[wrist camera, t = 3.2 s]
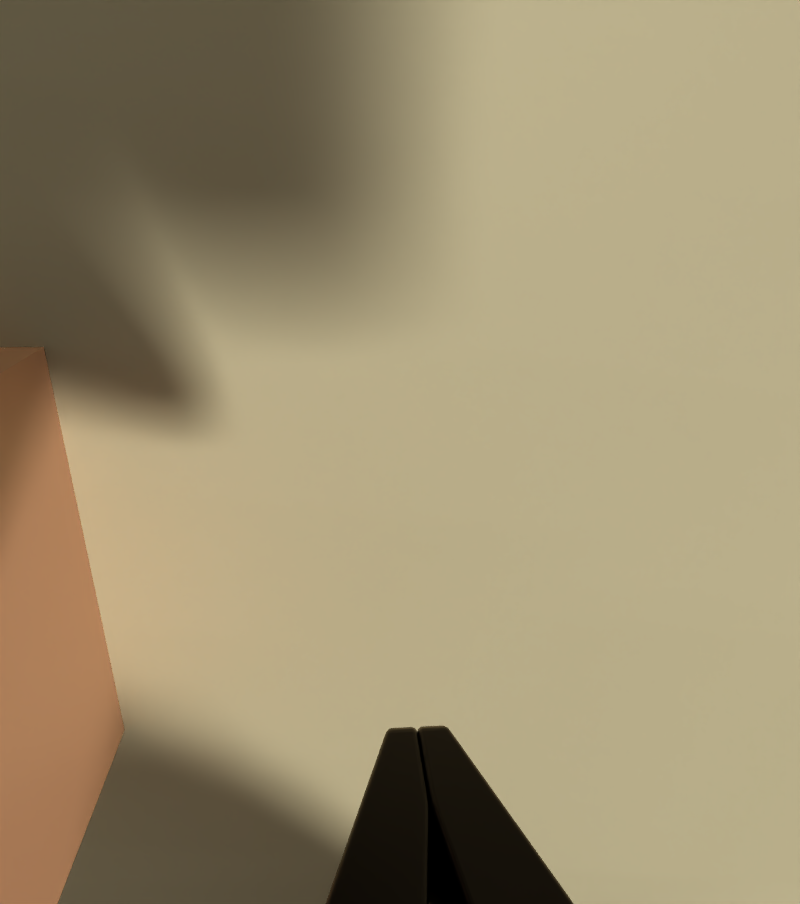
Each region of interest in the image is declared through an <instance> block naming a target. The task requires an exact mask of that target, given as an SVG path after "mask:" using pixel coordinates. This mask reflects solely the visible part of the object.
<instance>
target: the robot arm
mask: <svg viewBox="0 0 800 904" xmlns="http://www.w3.org/2000/svg"><path fill="white" fill-rule="evenodd" d="M326 904H573V902H572V901H571V899H570V898H569V897H568V895H567V894H566V892H565V891H564V890H563V888H562V887H561V885H560V884H559V883H558V881H557V880H556V878H555V877H554V876H553V874H552V873H551V871H550V870H549V869H548V867H547V866H546V864H545V863H544V862H543V860H542V859H541V857H540V856H539V855H538V853H537V852H536V850H535V849H534V848H533V846H532V845H531V843H530V842H529V841H528V839H527V838H526V836H525V835H524V834H523V832H522V831H521V829H520V828H519V827H518V825H517V824H516V822H515V821H514V820H513V818H512V817H511V815H510V814H509V813H508V811H507V810H506V808H505V807H504V806H503V804H502V803H501V801H500V800H499V799H498V797H497V796H496V794H495V793H494V792H493V790H492V789H491V787H490V786H489V785H488V783H487V782H486V780H485V779H484V778H483V776H482V775H481V773H480V772H479V771H478V769H477V768H476V766H475V765H474V764H473V762H472V761H471V759H470V758H469V757H468V755H467V754H466V752H465V751H464V750H463V748H462V747H461V745H460V744H459V743H458V741H457V740H456V738H455V737H454V736H453V734H452V733H451V731H450V730H449V729H448V728H447V727H445V726H426V727H420V728H419V729H418V731H416V729H415V728H413V727H406V728H391V729H389V730H388V731H387V732H386V734H385V737H384V740H383V743H382V745H381V748H380V751H379V754H378V757H377V760H376V762H375V765H374V768H373V771H372V774H371V777H370V779H369V782H368V785H367V788H366V791H365V794H364V796H363V799H362V802H361V805H360V808H359V811H358V813H357V816H356V819H355V822H354V825H353V828H352V830H351V833H350V836H349V839H348V842H347V845H346V847H345V850H344V853H343V856H342V859H341V862H340V864H339V867H338V870H337V873H336V876H335V879H334V881H333V884H332V887H331V890H330V893H329V896H328V899H327V901H326Z"/></svg>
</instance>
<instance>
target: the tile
mask: <svg viewBox="0 0 800 904" xmlns="http://www.w3.org/2000/svg"><path fill="white" fill-rule="evenodd" d="M124 730H125V729H124V725H123V720H122V715H121V710H120V706H119V701H118V696H117V692H116V687H115V682H114V677H113V673H112V668H111V663H110V658H109V654H108V649H107V644H106V639H105V635H104V630H103V625H102V620H101V616H100V611H99V606H98V602H97V597H96V592H95V587H94V583H93V578H92V573H91V568H90V564H89V559H88V554H87V549H86V545H85V540H84V535H83V530H82V526H81V521H80V516H79V512H78V507H77V502H76V497H75V493H74V488H73V483H72V478H71V474H70V469H69V464H68V459H67V455H66V450H65V445H64V441H63V436H62V431H61V426H60V422H59V417H58V412H57V407H56V403H55V398H54V393H53V388H52V384H51V379H50V374H49V369H48V365H47V360H46V355H45V351H44V347H3V348H0V904H58V901H59V899H60V896H61V893H62V891H63V888H64V886H65V883H66V880H67V878H68V875H69V873H70V870H71V867H72V865H73V862H74V860H75V857H76V855H77V852H78V849H79V847H80V844H81V842H82V839H83V836H84V834H85V831H86V829H87V826H88V824H89V821H90V818H91V816H92V813H93V811H94V808H95V805H96V803H97V800H98V798H99V795H100V792H101V790H102V787H103V785H104V782H105V780H106V777H107V774H108V772H109V769H110V767H111V764H112V761H113V759H114V756H115V754H116V751H117V749H118V746H119V743H120V741H121V738H122V736H123V733H124Z"/></svg>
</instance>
